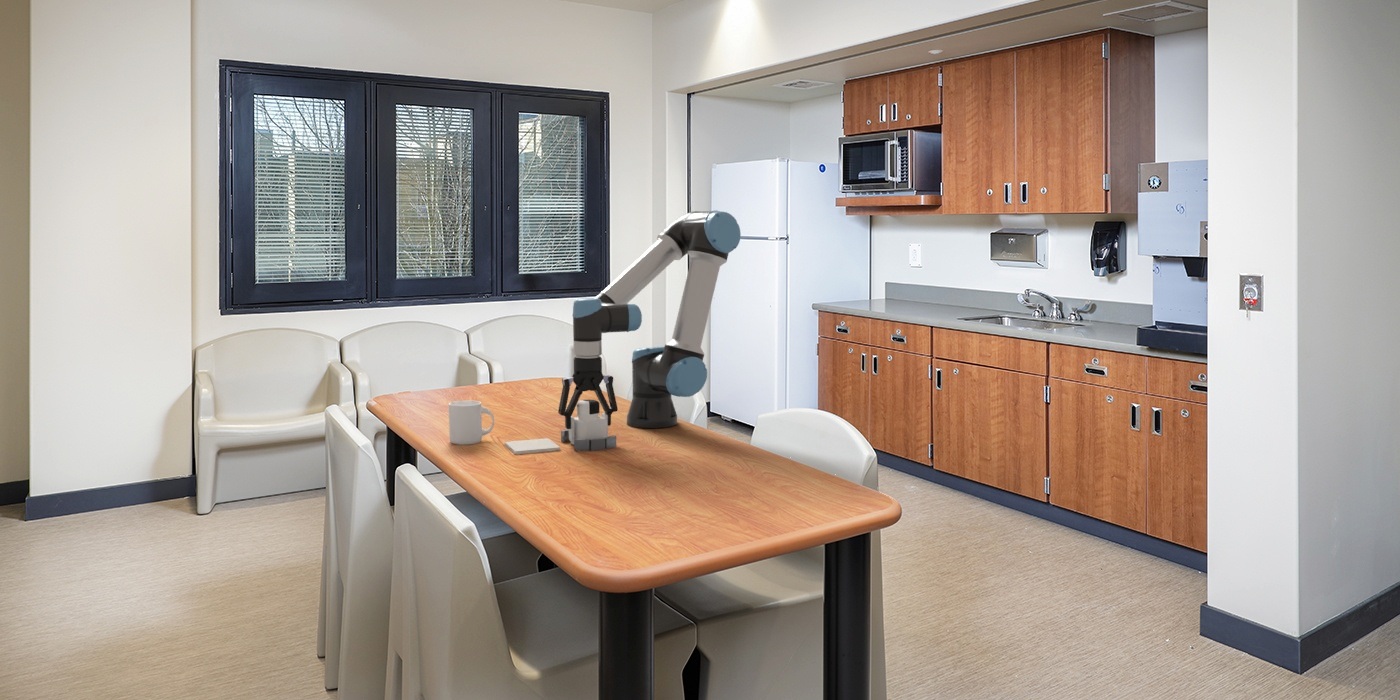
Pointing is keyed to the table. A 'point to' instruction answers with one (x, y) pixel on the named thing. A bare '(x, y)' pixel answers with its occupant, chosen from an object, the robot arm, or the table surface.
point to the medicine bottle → (589, 421)
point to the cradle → (590, 442)
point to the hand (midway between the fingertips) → (588, 439)
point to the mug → (467, 422)
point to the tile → (532, 446)
